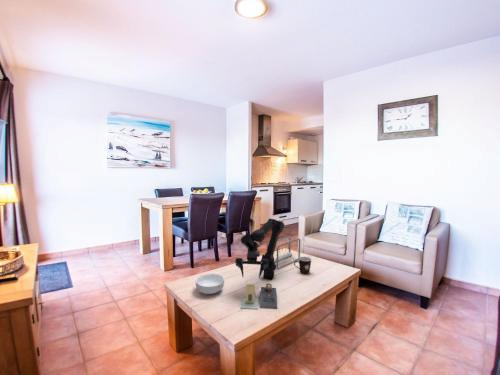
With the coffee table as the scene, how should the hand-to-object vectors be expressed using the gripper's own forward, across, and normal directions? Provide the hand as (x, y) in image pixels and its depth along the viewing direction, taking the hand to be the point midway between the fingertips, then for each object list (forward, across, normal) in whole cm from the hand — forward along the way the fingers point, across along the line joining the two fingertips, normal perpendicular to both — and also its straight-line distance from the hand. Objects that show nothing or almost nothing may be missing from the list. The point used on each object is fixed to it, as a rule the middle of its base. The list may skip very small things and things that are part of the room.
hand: (251, 277), depth 138 cm
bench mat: (+12, 0, +6) cm, 13 cm away
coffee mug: (-19, +34, +37) cm, 54 cm away
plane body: (+8, +10, +9) cm, 16 cm away
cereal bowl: (+4, -25, +14) cm, 28 cm away
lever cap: (+12, 0, +5) cm, 13 cm away
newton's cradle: (-31, +22, +49) cm, 62 cm away
